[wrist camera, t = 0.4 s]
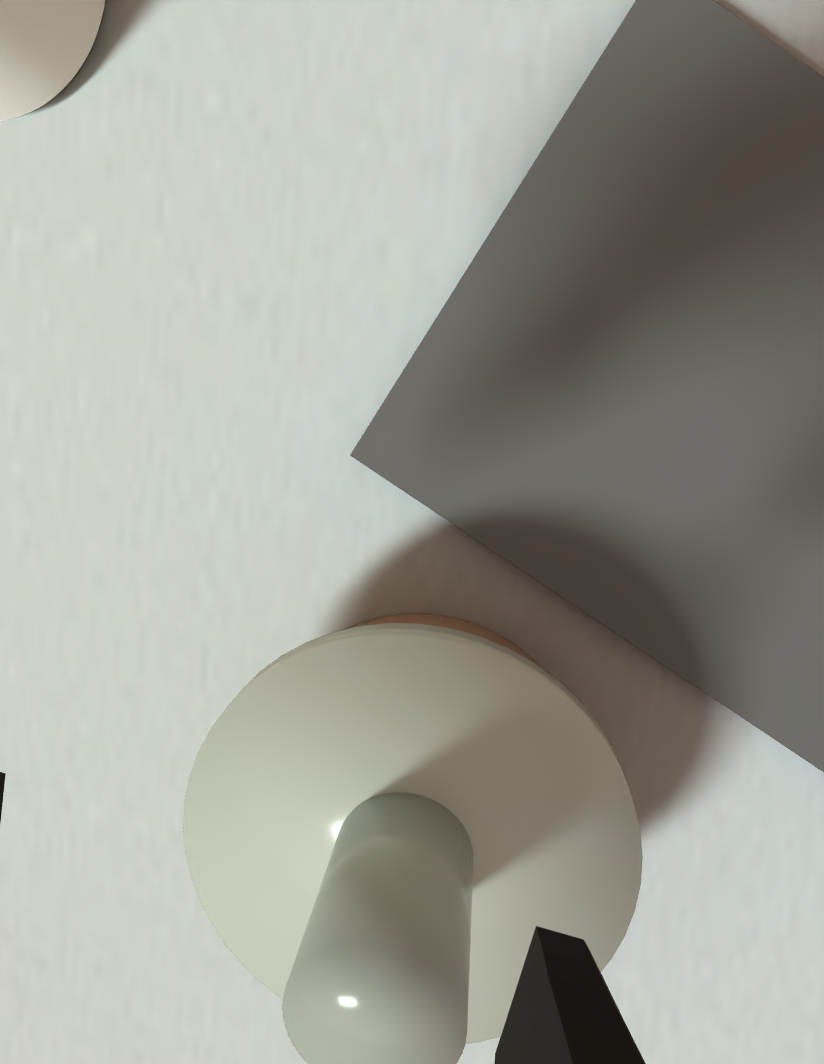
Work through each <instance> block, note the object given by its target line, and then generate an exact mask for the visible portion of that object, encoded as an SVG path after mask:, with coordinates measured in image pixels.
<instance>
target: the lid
mask: <svg viewBox="0 0 824 1064" xmlns="http://www.w3.org/2000/svg"><path fill="white" fill-rule="evenodd" d="M183 832H184V843H185V854H186V858H187V862H188V867H189V871H190V876H191V879H192V882H193V885H194V887H195V890H196V893H197V895H198V898H199V901H200V903H201V905H202V907H203V909H204V911H205V913H206V915H207V917H208V919H209V921H210V923H211V924H212V926H213V928H214V929H215V931H216V932H217V934H218V935H219V937H220V938H221V939H222V941H223V942H224V944H225V945H226V947H227V948H228V949H229V951H230V952H231V953H232V954H233V955H234V956H235V957H236V959H237V960H238V961H239V962H240V963H241V964H242V965H243V967H244V968H245V969H246V970H247V971H248V972H249V973H251V974H252V975H253V976H254V977H255V978H256V979H257V980H258V981H259V982H260V983H262V984H263V985H264V986H265V987H266V988H267V989H269V990H270V991H271V992H273V993H274V994H275V995H277V996H278V997H280V998H281V999H282V1000H283V1004H282V1009H283V1019H284V1024H285V1028H286V1030H287V1033H288V1036H289V1038H290V1040H291V1042H292V1044H293V1046H294V1047H295V1049H296V1050H297V1051H298V1053H299V1054H300V1056H301V1057H302V1058H303V1059H304V1060H305V1061H306V1062H307V1064H456V1063H457V1062H458V1060H459V1058H460V1056H461V1054H462V1052H463V1049H464V1046H465V1044H469V1043H477V1042H481V1041H485V1040H489V1039H493V1038H497V1037H501V1034H502V1031H503V1028H504V1025H505V1022H506V1019H507V1015H508V1012H509V1009H510V1006H511V1003H512V1000H513V997H514V994H515V990H516V987H517V984H518V981H519V978H520V975H521V972H522V968H523V965H524V962H525V959H526V956H527V953H528V950H529V946H530V943H531V940H532V937H533V934H534V931H535V928H536V926H538V927H542V928H545V929H549V930H552V931H556V932H559V933H563V934H566V935H570V936H573V937H577V938H580V939H584V941H585V942H586V944H587V946H588V948H589V950H590V952H591V954H592V956H593V958H594V960H595V962H596V964H597V966H598V968H599V970H600V972H601V971H602V970H603V969H604V967H605V966H606V965H607V964H608V962H609V961H610V960H611V959H612V957H613V955H614V954H615V952H616V950H617V948H618V947H619V945H620V943H621V941H622V940H623V938H624V936H625V934H626V931H627V929H628V926H629V924H630V921H631V919H632V916H633V914H634V911H635V907H636V902H637V898H638V894H639V889H640V885H641V871H642V846H641V834H640V827H639V822H638V818H637V814H636V810H635V806H634V802H633V798H632V795H631V793H630V790H629V787H628V784H627V781H626V778H625V776H624V773H623V771H622V768H621V766H620V763H619V761H618V758H617V756H616V753H615V751H614V750H613V748H612V746H611V744H610V743H609V741H608V739H607V737H606V736H605V734H604V732H603V730H602V729H601V727H600V726H599V725H598V723H597V722H596V721H595V719H594V718H593V717H592V716H591V714H590V713H589V712H588V710H587V709H586V708H585V706H584V705H583V704H582V703H581V702H580V701H579V700H578V699H577V698H576V697H575V696H574V695H573V694H572V693H571V692H570V691H569V690H568V689H567V688H566V687H565V686H564V685H563V684H562V683H561V682H559V681H558V680H557V679H555V678H554V677H553V676H551V675H550V674H549V673H547V672H546V671H545V670H543V669H542V668H541V667H540V666H538V665H537V664H535V663H533V662H532V661H530V660H528V659H527V658H525V657H523V656H521V655H520V654H518V653H516V652H514V651H513V650H511V649H509V648H506V647H504V646H502V645H499V644H497V643H495V642H492V641H490V640H488V639H485V638H483V637H480V636H476V635H473V634H469V633H466V632H462V631H459V630H455V629H452V628H445V627H439V626H432V625H426V624H410V623H385V624H375V625H365V626H358V627H354V628H350V629H345V630H341V631H337V632H333V633H330V634H327V635H325V636H322V637H319V638H317V639H314V640H311V641H309V642H306V643H304V644H302V645H300V646H299V647H297V648H295V649H293V650H291V651H289V652H287V653H286V654H284V655H282V656H280V657H279V658H278V659H276V660H275V661H274V662H272V663H271V664H270V665H268V666H267V667H265V668H264V669H263V670H261V671H260V672H259V673H258V674H257V675H256V676H255V677H254V678H253V679H252V680H251V681H250V682H249V683H248V684H247V685H246V686H245V687H244V688H243V689H242V690H241V691H240V692H239V693H238V694H237V696H236V697H235V698H234V699H233V700H232V702H231V703H230V704H229V705H228V706H227V708H226V709H225V710H224V712H223V713H222V714H221V716H220V717H219V718H218V720H217V721H216V722H215V724H214V725H213V726H212V728H211V729H210V731H209V733H208V735H207V737H206V739H205V740H204V742H203V744H202V746H201V748H200V750H199V752H198V754H197V757H196V760H195V763H194V765H193V768H192V771H191V774H190V777H189V782H188V787H187V791H186V796H185V802H184V820H183Z"/></svg>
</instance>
